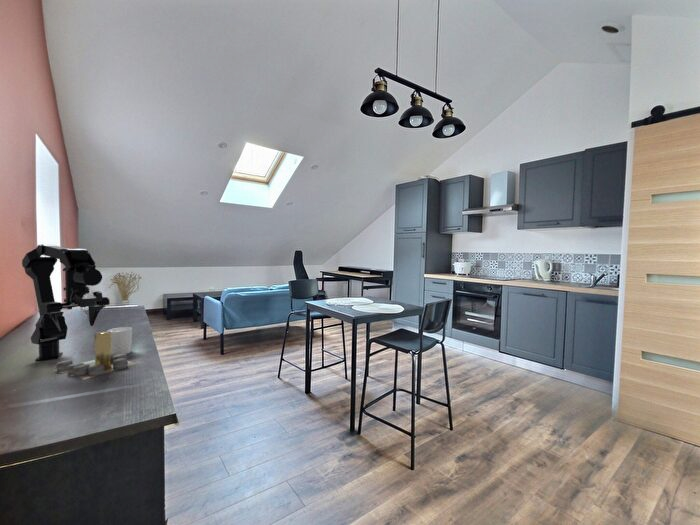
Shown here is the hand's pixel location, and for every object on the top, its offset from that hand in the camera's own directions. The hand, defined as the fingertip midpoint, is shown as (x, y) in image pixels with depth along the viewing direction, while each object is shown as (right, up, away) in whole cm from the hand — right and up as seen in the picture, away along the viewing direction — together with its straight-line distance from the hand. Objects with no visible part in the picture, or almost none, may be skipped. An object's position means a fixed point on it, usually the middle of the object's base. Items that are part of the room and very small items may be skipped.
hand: (77, 328), depth 115 cm
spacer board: (+10, -13, -4) cm, 17 cm away
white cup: (+7, -13, +12) cm, 19 cm away
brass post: (+14, -12, -6) cm, 19 cm away
